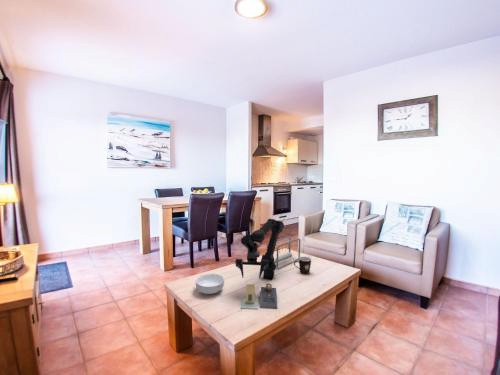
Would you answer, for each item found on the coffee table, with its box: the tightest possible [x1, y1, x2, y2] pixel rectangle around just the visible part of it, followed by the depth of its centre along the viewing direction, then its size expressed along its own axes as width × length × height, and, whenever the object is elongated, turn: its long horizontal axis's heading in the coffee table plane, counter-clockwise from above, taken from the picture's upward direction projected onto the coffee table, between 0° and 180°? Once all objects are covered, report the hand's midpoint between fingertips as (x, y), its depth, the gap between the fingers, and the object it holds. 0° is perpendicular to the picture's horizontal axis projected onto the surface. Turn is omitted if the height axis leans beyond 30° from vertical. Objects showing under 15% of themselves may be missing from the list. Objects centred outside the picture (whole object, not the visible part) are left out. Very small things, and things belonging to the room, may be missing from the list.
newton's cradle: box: [266, 235, 301, 270], centre depth 193 cm, size 30×10×18 cm, turn 136°
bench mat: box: [240, 296, 260, 310], centre depth 134 cm, size 11×9×1 cm
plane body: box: [259, 282, 278, 309], centre depth 139 cm, size 18×9×6 cm, turn 176°
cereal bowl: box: [195, 273, 225, 295], centre depth 147 cm, size 17×17×7 cm
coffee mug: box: [293, 256, 312, 276], centre depth 175 cm, size 12×9×10 cm
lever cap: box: [245, 283, 256, 304], centre depth 134 cm, size 3×4×10 cm, turn 86°
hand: (251, 278), depth 137 cm, fingers open, 9 cm apart
